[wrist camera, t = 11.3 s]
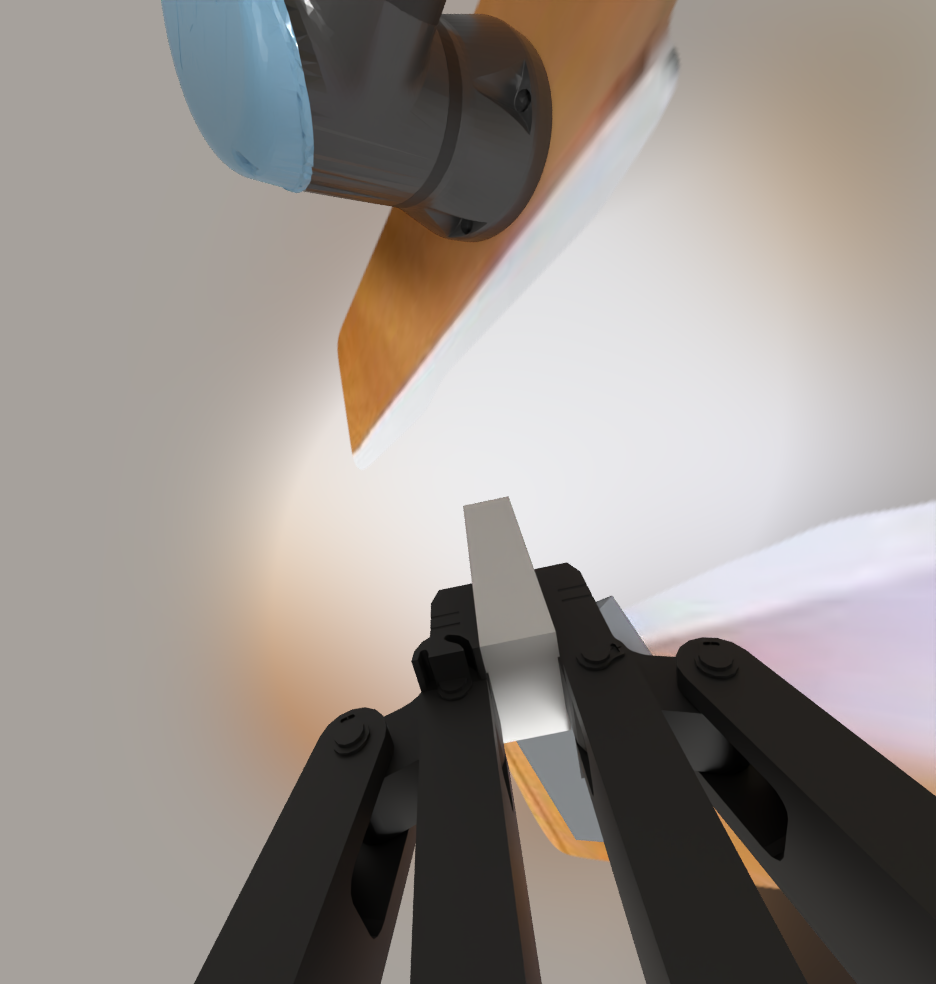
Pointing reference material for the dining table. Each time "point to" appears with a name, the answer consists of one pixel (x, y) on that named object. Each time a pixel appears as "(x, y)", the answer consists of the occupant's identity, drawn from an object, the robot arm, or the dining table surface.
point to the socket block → (559, 752)
